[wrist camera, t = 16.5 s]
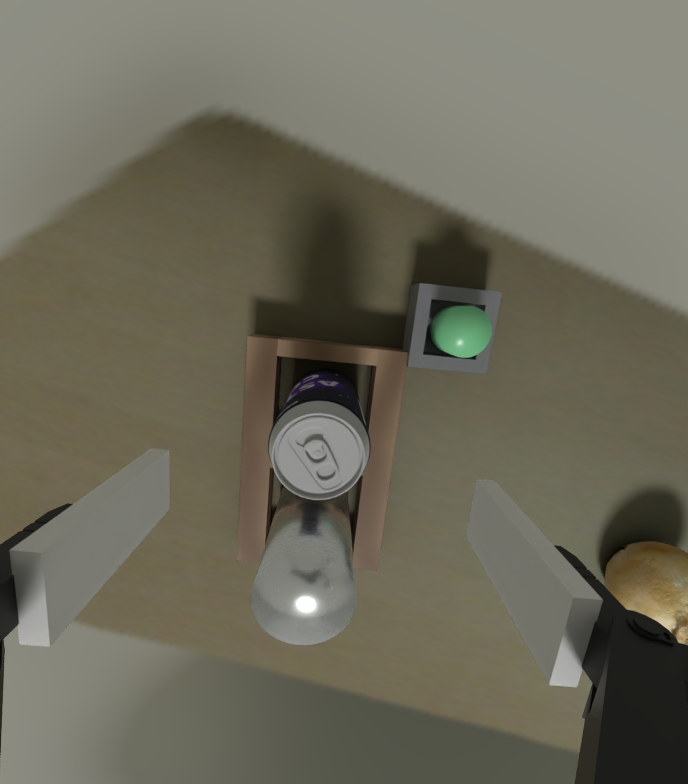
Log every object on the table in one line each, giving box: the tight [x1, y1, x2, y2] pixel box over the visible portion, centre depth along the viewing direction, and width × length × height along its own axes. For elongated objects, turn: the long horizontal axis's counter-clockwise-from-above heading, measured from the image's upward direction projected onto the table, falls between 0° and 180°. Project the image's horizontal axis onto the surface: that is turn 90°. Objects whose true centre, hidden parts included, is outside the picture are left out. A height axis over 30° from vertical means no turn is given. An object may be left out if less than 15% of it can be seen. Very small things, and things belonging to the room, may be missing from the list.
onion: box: [605, 541, 688, 644], centre depth 32 cm, size 8×8×7 cm
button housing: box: [402, 283, 502, 374], centre depth 28 cm, size 6×6×3 cm
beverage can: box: [268, 369, 371, 500], centre depth 25 cm, size 6×6×12 cm
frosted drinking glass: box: [251, 485, 357, 645], centre depth 27 cm, size 6×6×12 cm
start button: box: [429, 306, 492, 358], centre depth 25 cm, size 3×3×3 cm
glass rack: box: [237, 334, 408, 571], centre depth 30 cm, size 12×19×2 cm, turn 174°
